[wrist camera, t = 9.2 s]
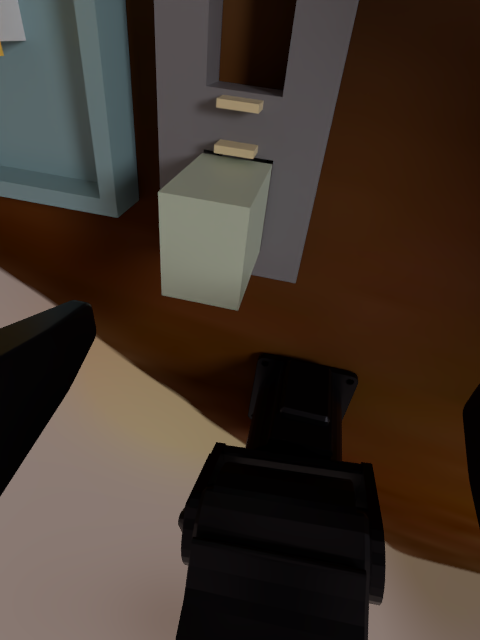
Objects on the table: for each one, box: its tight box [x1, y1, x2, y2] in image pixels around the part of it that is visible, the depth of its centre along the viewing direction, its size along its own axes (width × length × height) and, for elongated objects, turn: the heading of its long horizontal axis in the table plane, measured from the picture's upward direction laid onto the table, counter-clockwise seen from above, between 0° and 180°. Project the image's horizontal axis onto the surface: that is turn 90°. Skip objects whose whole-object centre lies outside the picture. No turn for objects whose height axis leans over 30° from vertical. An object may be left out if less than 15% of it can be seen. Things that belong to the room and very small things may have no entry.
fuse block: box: [154, 0, 359, 283], centre depth 14 cm, size 20×7×3 cm, turn 175°
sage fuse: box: [158, 153, 272, 311], centre depth 16 cm, size 4×3×7 cm
